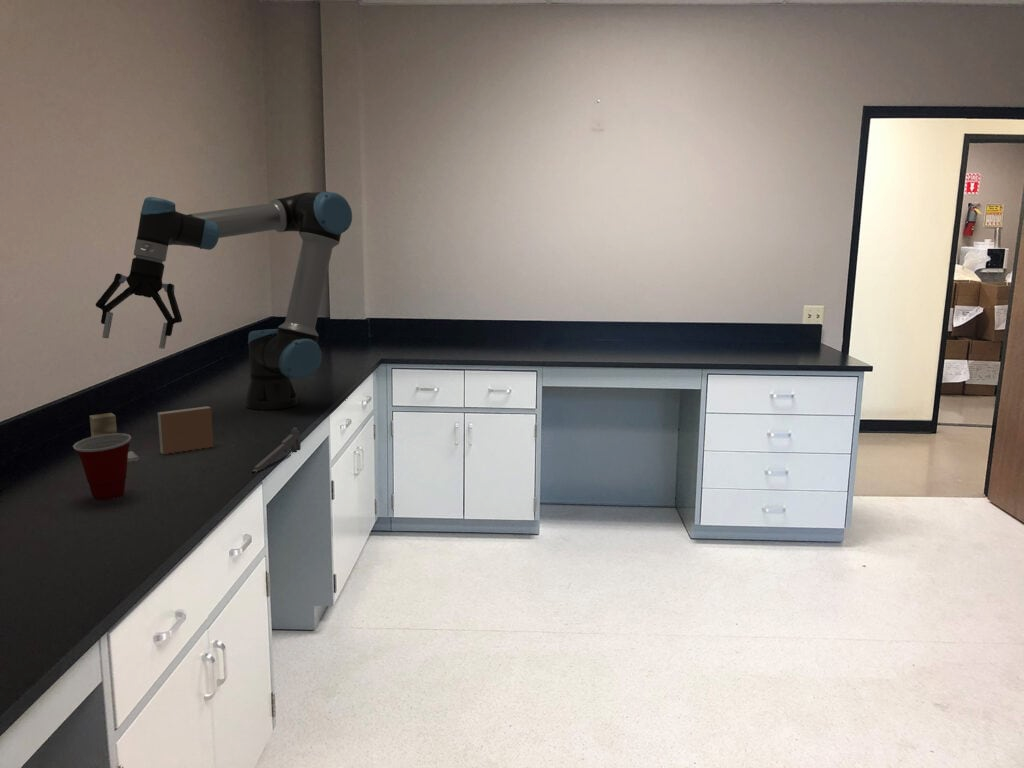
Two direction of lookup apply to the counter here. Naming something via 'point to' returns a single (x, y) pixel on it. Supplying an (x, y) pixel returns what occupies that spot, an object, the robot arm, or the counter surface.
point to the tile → (185, 429)
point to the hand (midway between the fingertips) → (133, 343)
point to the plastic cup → (105, 463)
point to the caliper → (282, 449)
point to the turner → (107, 429)
